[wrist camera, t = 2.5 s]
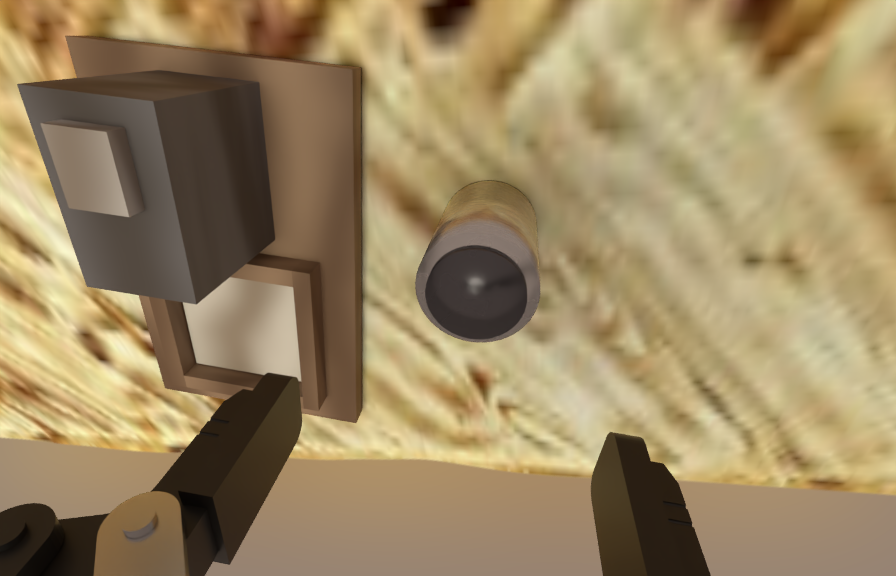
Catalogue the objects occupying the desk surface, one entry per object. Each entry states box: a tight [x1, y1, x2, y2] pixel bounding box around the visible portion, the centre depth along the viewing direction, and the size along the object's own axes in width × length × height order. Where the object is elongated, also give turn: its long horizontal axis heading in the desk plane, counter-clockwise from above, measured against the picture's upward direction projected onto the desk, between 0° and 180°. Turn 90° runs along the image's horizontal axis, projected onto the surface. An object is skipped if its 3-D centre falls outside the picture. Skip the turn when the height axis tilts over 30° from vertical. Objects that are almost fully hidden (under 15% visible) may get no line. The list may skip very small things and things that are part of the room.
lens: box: [415, 181, 540, 342], centre depth 21 cm, size 5×5×8 cm
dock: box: [17, 36, 362, 423], centre depth 24 cm, size 14×22×9 cm, turn 175°
